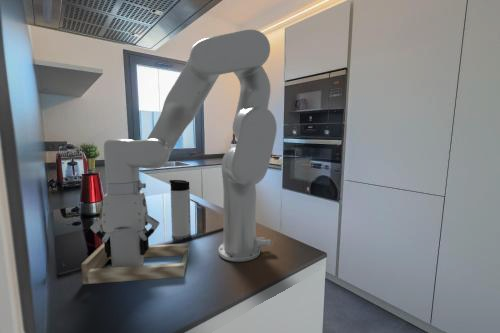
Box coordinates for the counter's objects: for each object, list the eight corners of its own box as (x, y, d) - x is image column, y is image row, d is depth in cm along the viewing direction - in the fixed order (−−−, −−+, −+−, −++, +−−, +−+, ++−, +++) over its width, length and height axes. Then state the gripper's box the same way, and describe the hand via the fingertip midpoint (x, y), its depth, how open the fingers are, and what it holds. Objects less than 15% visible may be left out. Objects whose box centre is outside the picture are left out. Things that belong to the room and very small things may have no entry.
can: (131, 277, 60) (128, 230, 58) (105, 273, 61) (101, 228, 60) (149, 262, 67) (147, 220, 66) (125, 259, 69) (123, 218, 67)
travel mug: (168, 235, 84) (166, 179, 82) (185, 230, 89) (184, 177, 86) (176, 241, 80) (174, 182, 77) (194, 236, 84) (192, 179, 82)
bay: (189, 252, 72) (188, 236, 72) (183, 276, 60) (183, 257, 60) (106, 257, 69) (105, 241, 68) (83, 284, 57) (81, 264, 56)
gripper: (162, 184, 66) (164, 245, 69) (93, 185, 64) (98, 249, 66) (156, 190, 59) (158, 259, 61) (78, 192, 56) (84, 263, 59)
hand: (127, 253), depth 64 cm, fingers closed on can, 7 cm apart
